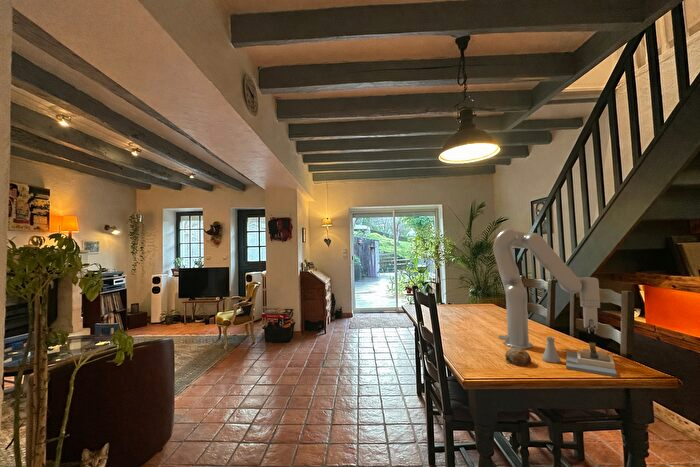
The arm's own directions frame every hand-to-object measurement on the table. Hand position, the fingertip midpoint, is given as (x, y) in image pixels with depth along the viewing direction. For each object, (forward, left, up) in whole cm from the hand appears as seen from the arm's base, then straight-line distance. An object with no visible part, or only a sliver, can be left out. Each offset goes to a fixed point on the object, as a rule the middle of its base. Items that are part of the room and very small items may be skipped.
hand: (592, 340), depth 150 cm
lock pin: (0, -6, -4) cm, 7 cm away
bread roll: (-27, -32, -6) cm, 43 cm away
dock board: (-2, -19, -6) cm, 20 cm away
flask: (-16, -23, -6) cm, 28 cm away
